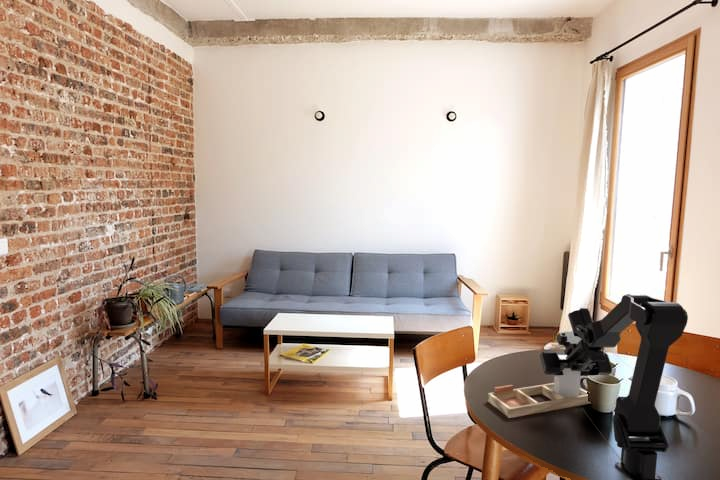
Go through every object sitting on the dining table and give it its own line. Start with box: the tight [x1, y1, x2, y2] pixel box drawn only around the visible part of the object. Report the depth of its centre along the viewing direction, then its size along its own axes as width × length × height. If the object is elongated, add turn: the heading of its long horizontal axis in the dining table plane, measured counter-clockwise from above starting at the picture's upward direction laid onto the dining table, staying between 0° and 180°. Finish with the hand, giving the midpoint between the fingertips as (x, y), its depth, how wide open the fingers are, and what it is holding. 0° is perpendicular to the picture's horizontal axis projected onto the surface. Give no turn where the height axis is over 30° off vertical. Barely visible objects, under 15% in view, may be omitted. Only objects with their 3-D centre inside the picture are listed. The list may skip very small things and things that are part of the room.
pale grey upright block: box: [553, 354, 581, 398], centre depth 134 cm, size 4×6×12 cm, turn 89°
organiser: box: [487, 382, 592, 419], centre depth 131 cm, size 10×29×4 cm, turn 108°
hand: (565, 374), depth 135 cm, fingers closed on pale grey upright block, 6 cm apart
